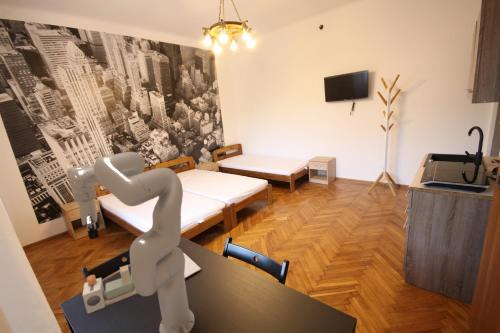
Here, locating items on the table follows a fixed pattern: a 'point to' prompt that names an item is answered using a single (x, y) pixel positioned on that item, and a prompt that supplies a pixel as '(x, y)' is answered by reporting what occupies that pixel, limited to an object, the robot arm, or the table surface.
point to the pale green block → (119, 297)
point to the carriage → (120, 284)
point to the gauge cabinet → (94, 296)
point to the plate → (190, 266)
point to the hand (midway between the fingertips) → (94, 233)
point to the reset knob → (91, 280)
